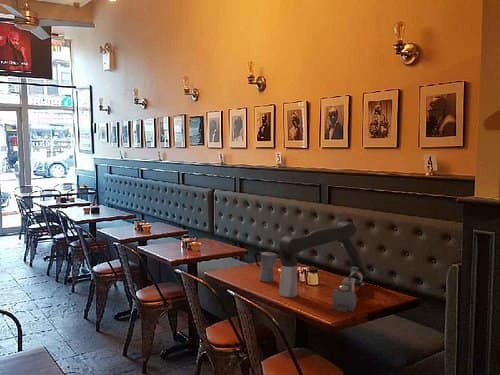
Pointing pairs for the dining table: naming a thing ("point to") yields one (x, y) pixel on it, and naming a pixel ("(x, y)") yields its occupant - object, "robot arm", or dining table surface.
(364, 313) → the dining table surface
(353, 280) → the block
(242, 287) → the dining table surface
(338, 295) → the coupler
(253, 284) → the dining table surface
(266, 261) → the moka pot
